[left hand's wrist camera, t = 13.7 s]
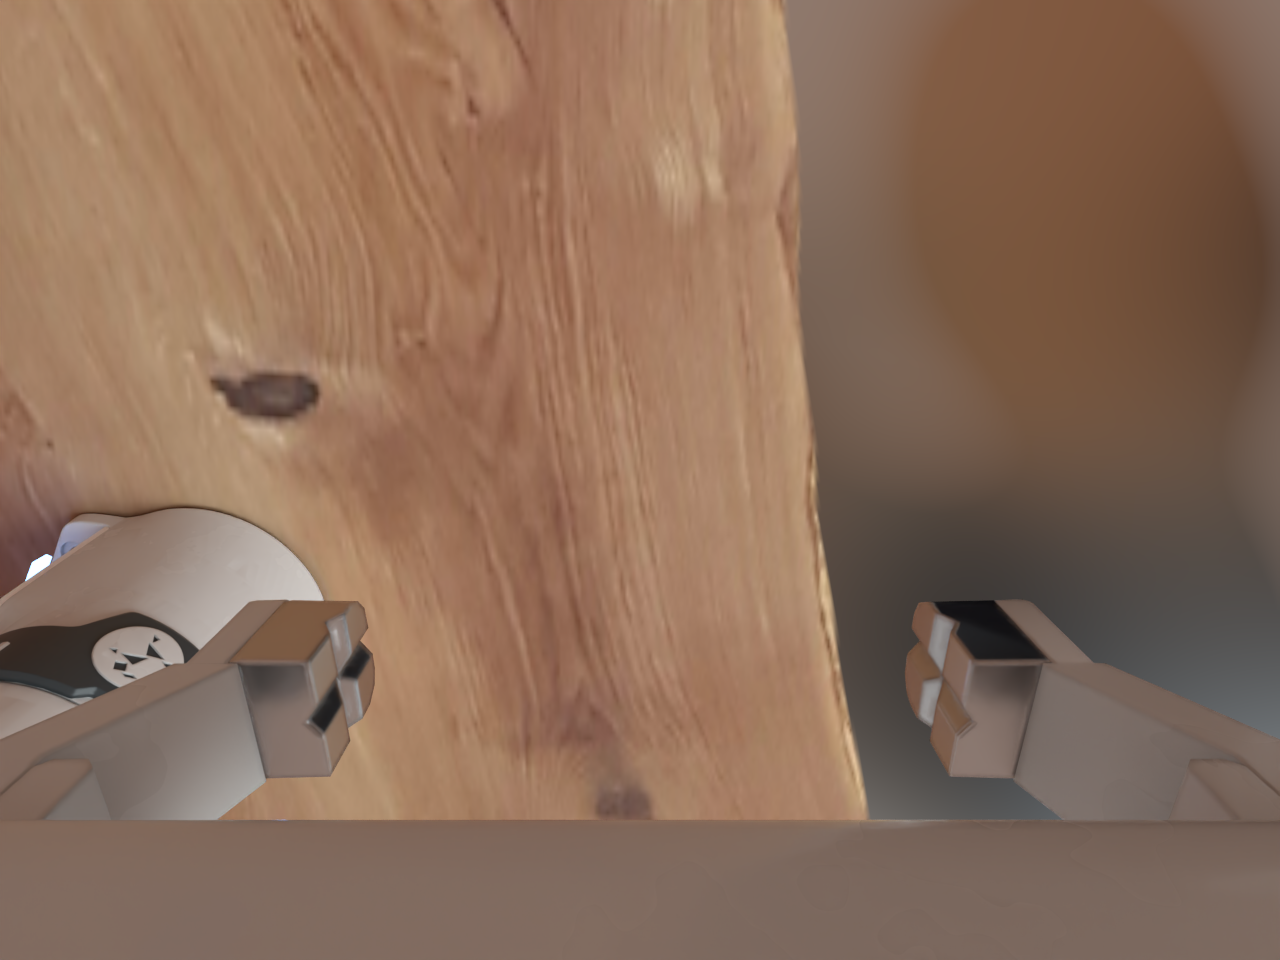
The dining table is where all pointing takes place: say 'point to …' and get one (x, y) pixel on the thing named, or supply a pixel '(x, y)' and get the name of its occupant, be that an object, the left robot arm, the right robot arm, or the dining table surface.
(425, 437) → the dining table surface
